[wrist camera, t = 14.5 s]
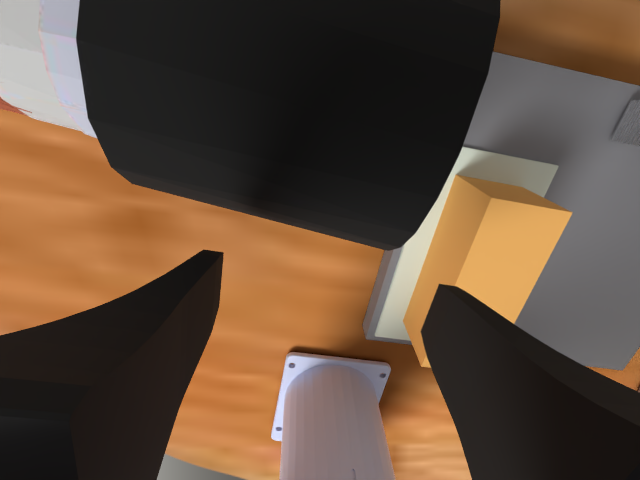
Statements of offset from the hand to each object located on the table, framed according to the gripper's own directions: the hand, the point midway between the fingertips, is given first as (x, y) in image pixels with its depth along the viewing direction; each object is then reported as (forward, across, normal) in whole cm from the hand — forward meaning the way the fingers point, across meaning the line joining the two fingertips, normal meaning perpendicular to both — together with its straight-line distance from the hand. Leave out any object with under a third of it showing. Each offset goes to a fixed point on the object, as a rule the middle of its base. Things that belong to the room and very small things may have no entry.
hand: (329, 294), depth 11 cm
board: (+10, -15, 0) cm, 18 cm away
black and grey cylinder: (+11, +14, -6) cm, 19 cm away
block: (+9, -9, +2) cm, 13 cm away
